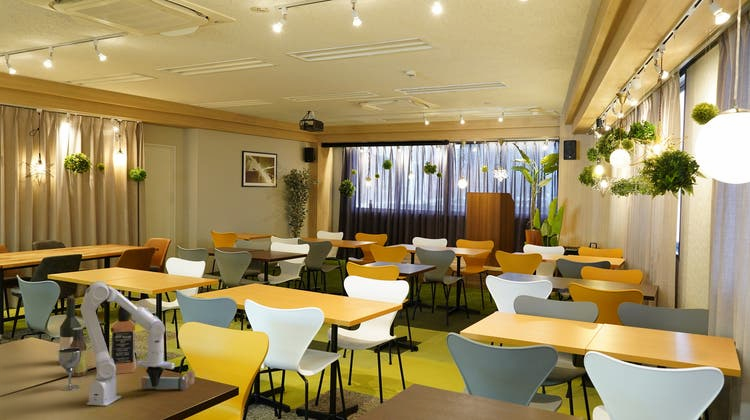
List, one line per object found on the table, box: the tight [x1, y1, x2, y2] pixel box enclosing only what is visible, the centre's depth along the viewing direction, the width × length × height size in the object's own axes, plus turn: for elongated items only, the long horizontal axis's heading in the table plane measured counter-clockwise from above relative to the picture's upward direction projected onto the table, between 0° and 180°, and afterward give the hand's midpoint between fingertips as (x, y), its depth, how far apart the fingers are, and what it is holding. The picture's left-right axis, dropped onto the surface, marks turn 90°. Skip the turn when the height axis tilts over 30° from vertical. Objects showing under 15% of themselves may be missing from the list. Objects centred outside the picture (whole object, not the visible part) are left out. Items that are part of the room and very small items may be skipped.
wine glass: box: [57, 347, 81, 392], centre depth 222 cm, size 8×8×15 cm
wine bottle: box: [59, 295, 82, 350], centre depth 255 cm, size 8×8×30 cm
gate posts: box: [151, 375, 186, 392], centre depth 223 cm, size 2×13×5 cm, turn 82°
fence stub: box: [182, 370, 195, 390], centre depth 227 cm, size 8×2×5 cm, turn 172°
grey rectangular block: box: [141, 375, 180, 390], centre depth 222 cm, size 14×2×4 cm, turn 92°
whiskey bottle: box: [110, 296, 137, 375], centre depth 246 cm, size 10×10×32 cm
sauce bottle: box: [70, 326, 88, 378], centre depth 238 cm, size 7×6×20 cm
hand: (155, 386), depth 218 cm, fingers closed
